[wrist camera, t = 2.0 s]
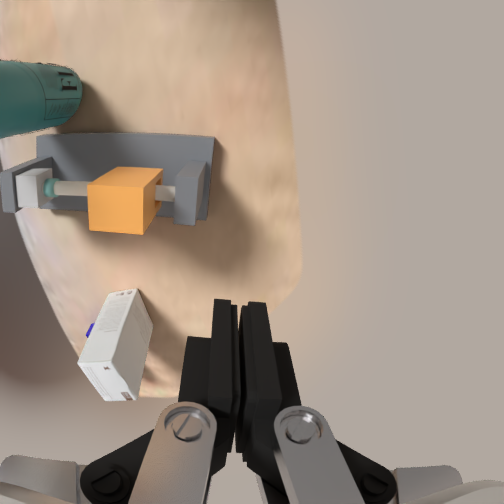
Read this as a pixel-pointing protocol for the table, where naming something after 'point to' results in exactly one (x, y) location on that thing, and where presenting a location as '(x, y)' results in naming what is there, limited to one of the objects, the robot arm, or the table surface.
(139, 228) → the orange rectangular block
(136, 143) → the rail
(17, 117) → the beverage bottle
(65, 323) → the table surface
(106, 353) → the skincare box
